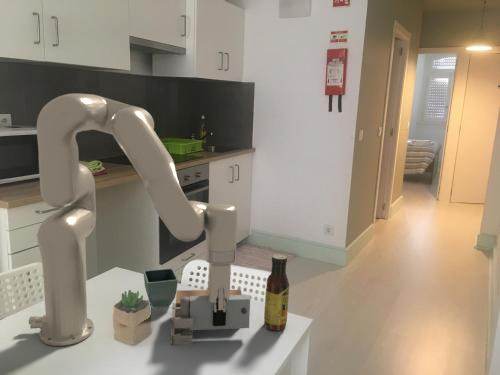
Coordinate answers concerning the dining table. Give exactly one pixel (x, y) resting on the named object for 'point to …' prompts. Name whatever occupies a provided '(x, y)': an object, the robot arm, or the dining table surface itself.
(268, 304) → the sauce bottle
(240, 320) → the door
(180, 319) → the hinge clips
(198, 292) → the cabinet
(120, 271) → the dining table surface
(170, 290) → the flower pot
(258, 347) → the dining table surface
